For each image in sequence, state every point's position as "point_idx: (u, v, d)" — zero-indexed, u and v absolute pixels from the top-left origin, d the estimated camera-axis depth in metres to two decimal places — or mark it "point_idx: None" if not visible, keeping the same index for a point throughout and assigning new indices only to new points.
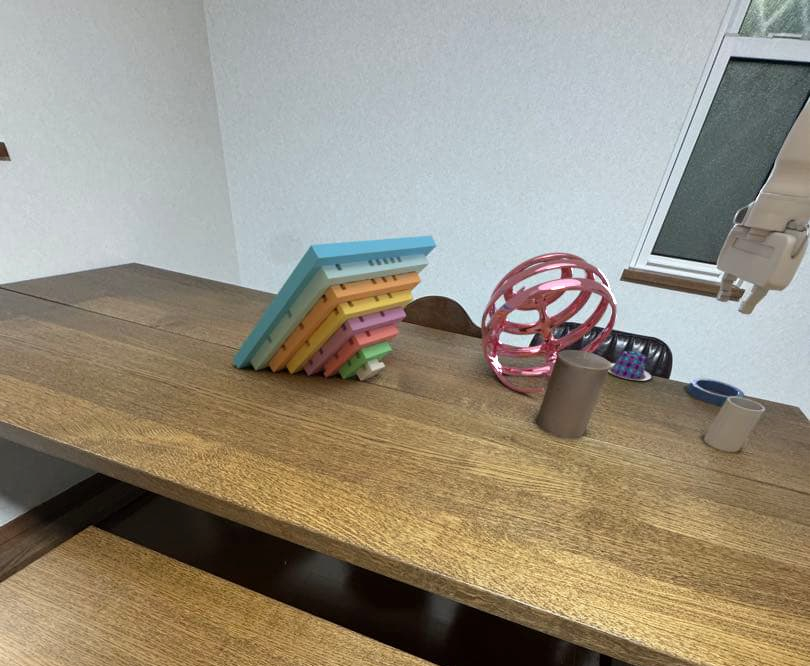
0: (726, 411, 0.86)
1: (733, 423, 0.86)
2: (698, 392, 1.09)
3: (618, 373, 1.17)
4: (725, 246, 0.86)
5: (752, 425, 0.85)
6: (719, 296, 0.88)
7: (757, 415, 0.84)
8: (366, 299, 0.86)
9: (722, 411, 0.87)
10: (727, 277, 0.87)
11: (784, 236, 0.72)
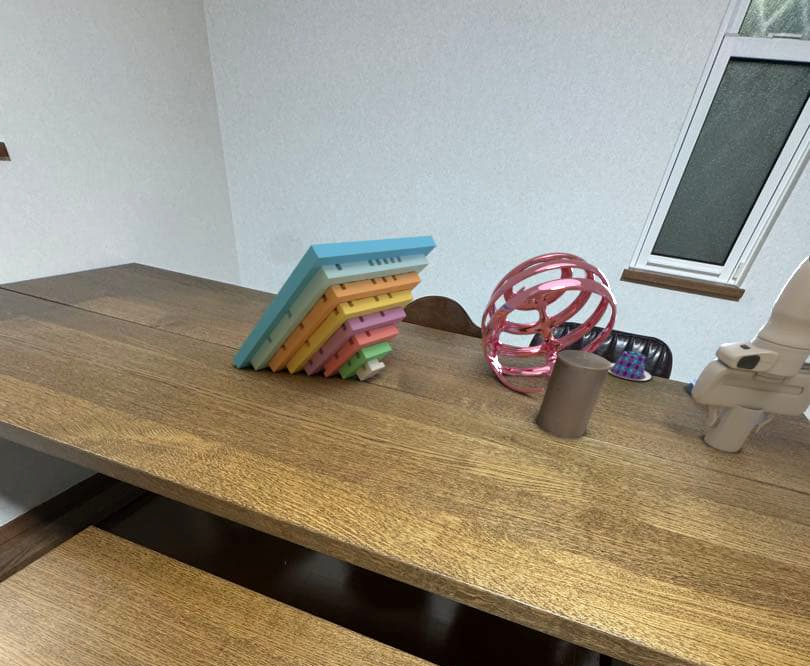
0: (726, 411, 0.86)
1: (733, 423, 0.86)
2: None
3: (618, 373, 1.17)
4: (713, 385, 0.82)
5: (752, 425, 0.85)
6: (715, 425, 0.88)
7: (757, 415, 0.84)
8: (366, 299, 0.86)
9: (722, 411, 0.87)
10: None
11: None
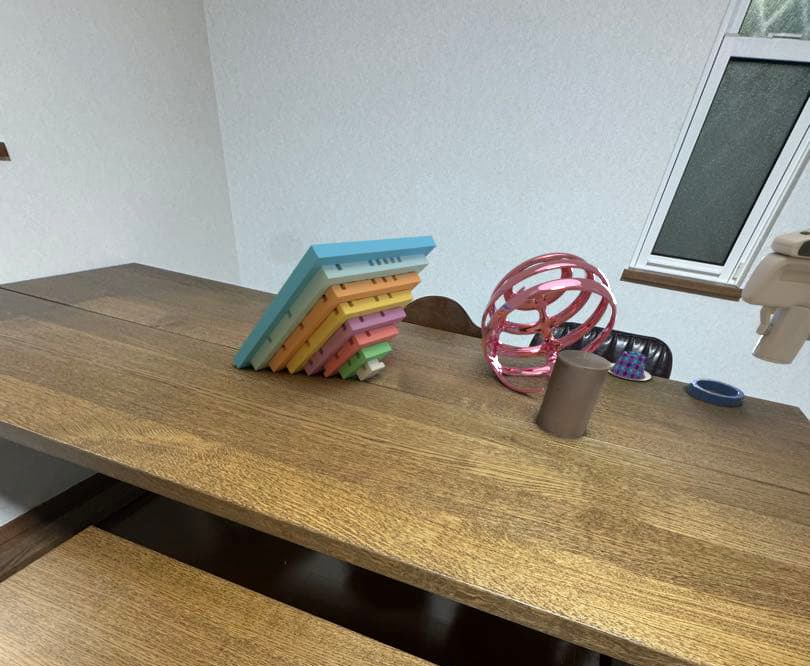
0: (781, 314, 0.78)
1: (789, 327, 0.77)
2: (698, 392, 1.09)
3: (618, 373, 1.17)
4: (769, 280, 0.74)
5: None
6: (768, 331, 0.80)
7: None
8: (366, 299, 0.86)
9: (776, 315, 0.79)
10: None
11: None
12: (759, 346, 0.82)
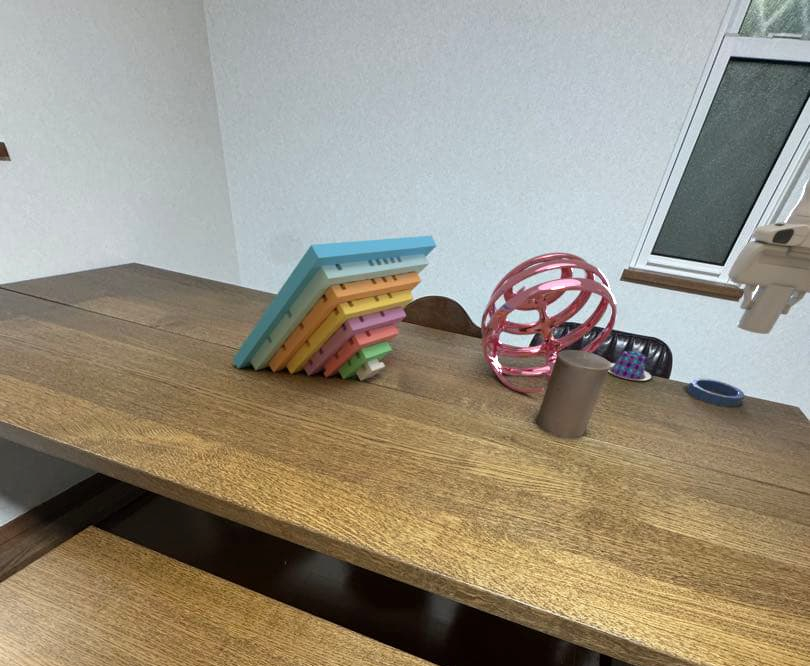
0: (760, 291, 0.95)
1: (766, 302, 0.95)
2: (698, 392, 1.09)
3: (618, 373, 1.17)
4: (750, 263, 0.91)
5: (784, 303, 0.94)
6: (750, 306, 0.97)
7: (789, 292, 0.93)
8: (366, 299, 0.86)
9: (756, 293, 0.96)
10: None
11: None
12: (743, 319, 0.99)
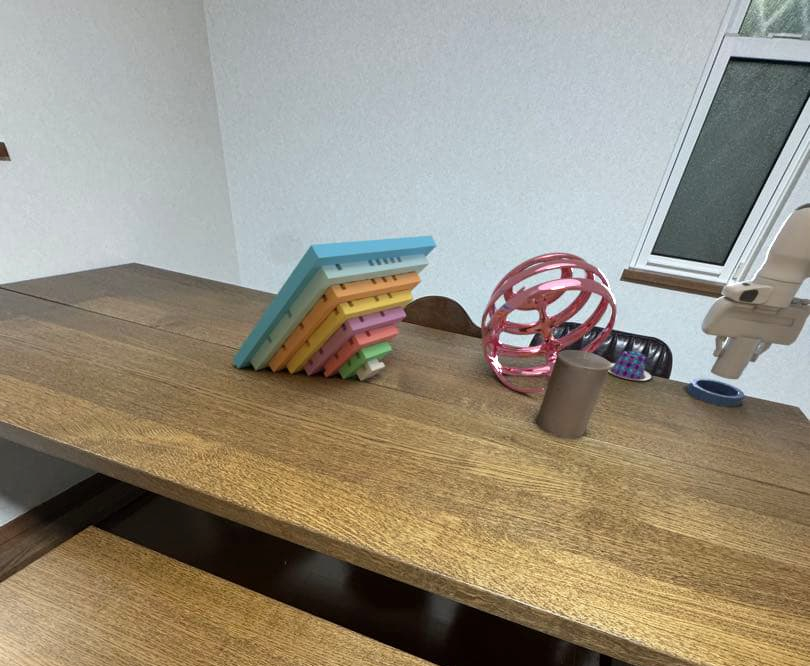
0: (730, 341, 1.03)
1: (736, 352, 1.03)
2: (698, 392, 1.09)
3: (618, 373, 1.17)
4: (720, 317, 0.99)
5: (751, 353, 1.03)
6: (721, 354, 1.05)
7: (756, 343, 1.01)
8: (366, 299, 0.86)
9: (727, 342, 1.04)
10: None
11: (802, 311, 0.97)
12: (715, 365, 1.08)
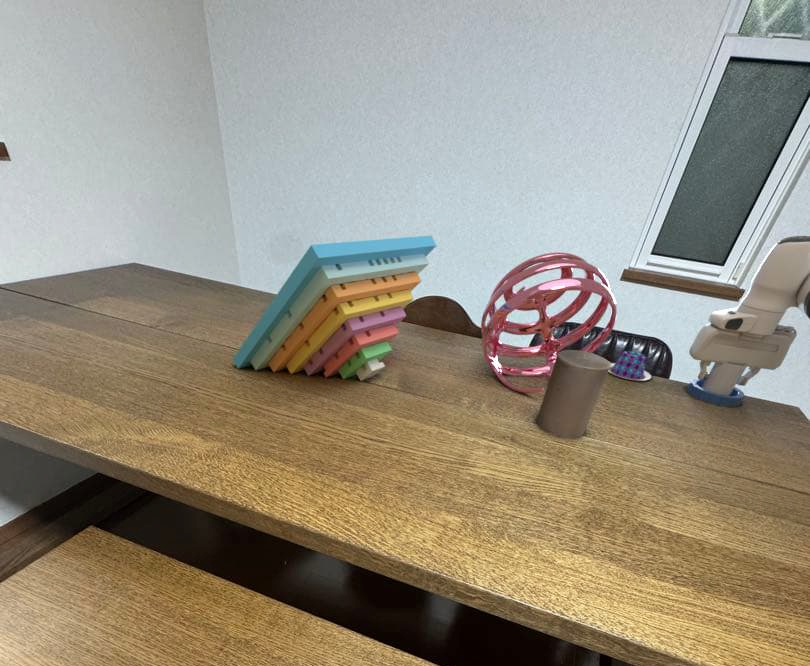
0: (716, 367, 1.07)
1: (722, 377, 1.07)
2: (698, 392, 1.09)
3: (618, 373, 1.17)
4: (707, 344, 1.03)
5: (737, 378, 1.06)
6: (705, 377, 1.09)
7: (741, 369, 1.05)
8: (366, 299, 0.86)
9: (713, 367, 1.08)
10: None
11: (786, 337, 1.01)
12: None
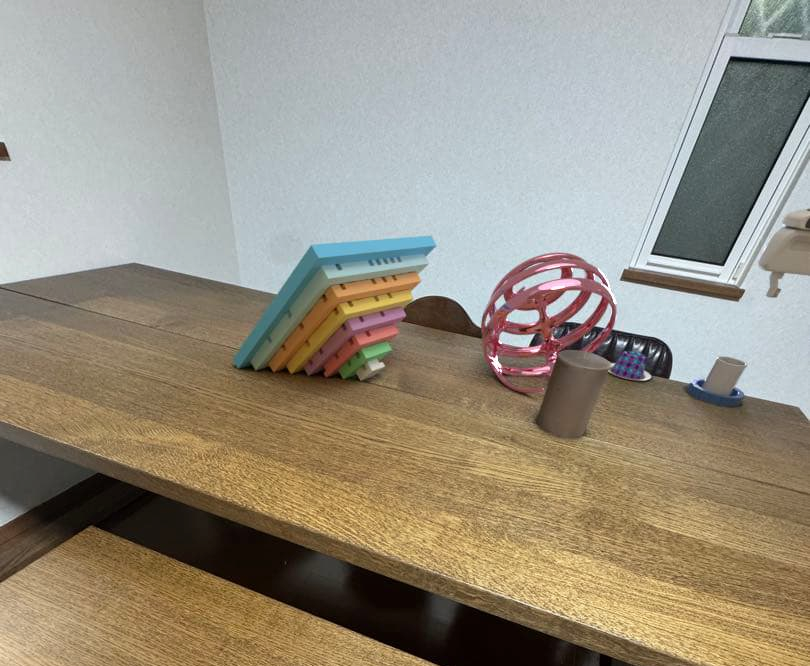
0: (716, 367, 1.07)
1: (722, 377, 1.07)
2: (698, 392, 1.09)
3: (618, 373, 1.17)
4: (781, 250, 0.89)
5: (737, 378, 1.06)
6: (776, 294, 0.95)
7: (741, 369, 1.05)
8: (366, 299, 0.86)
9: (713, 367, 1.08)
10: None
11: None
12: None
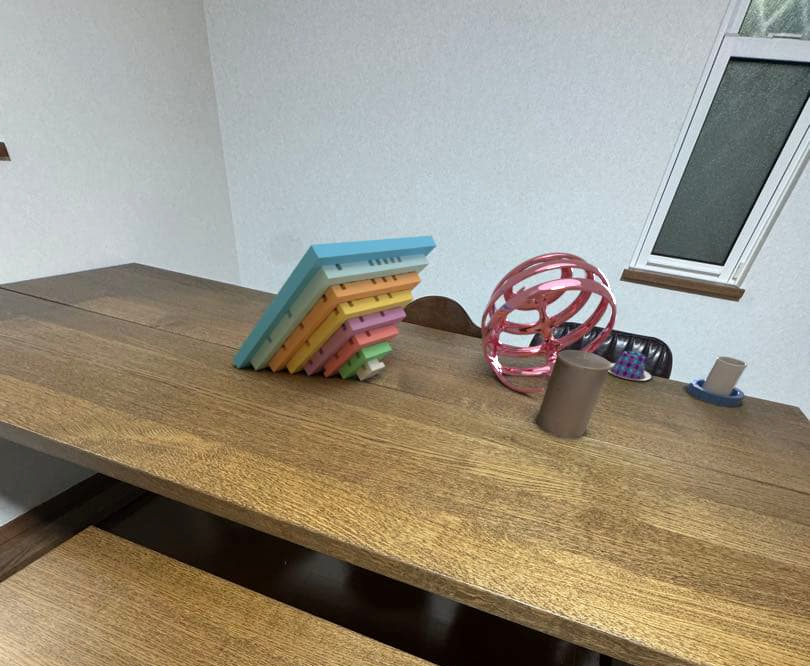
0: (716, 367, 1.07)
1: (722, 377, 1.07)
2: (698, 392, 1.09)
3: (618, 373, 1.17)
4: None
5: (737, 378, 1.06)
6: None
7: (741, 369, 1.05)
8: (366, 299, 0.86)
9: (713, 367, 1.08)
10: None
11: None
12: None
